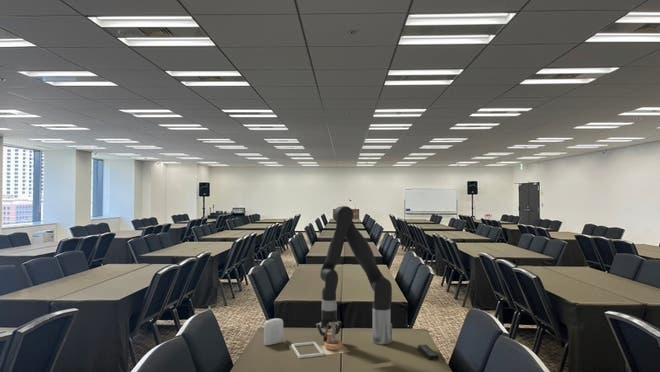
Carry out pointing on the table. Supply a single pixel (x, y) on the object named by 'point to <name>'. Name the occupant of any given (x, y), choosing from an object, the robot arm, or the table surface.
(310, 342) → the white tray
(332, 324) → the stake board
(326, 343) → the terracotta ring
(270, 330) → the photo printer
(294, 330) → the table surface
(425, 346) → the multiport hub
